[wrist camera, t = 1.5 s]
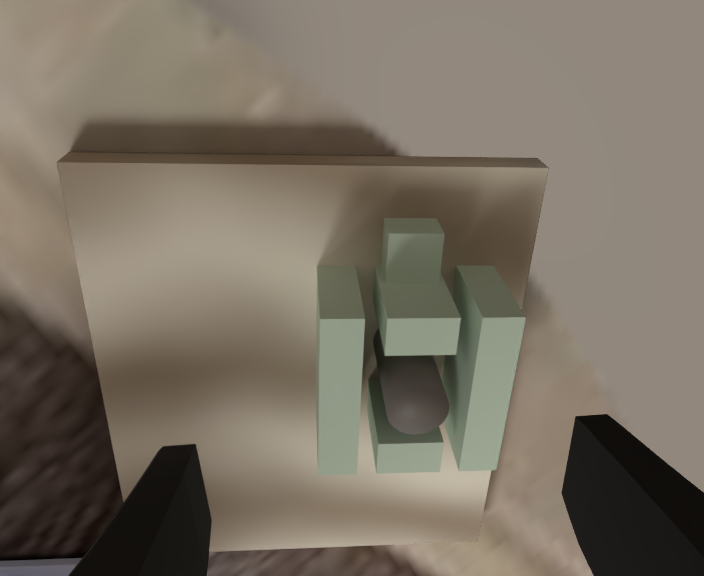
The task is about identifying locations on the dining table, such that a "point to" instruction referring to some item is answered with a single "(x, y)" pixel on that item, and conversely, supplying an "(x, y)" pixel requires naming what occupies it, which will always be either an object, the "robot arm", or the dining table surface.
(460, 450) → the green block stack
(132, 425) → the board
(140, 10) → the dining table surface
